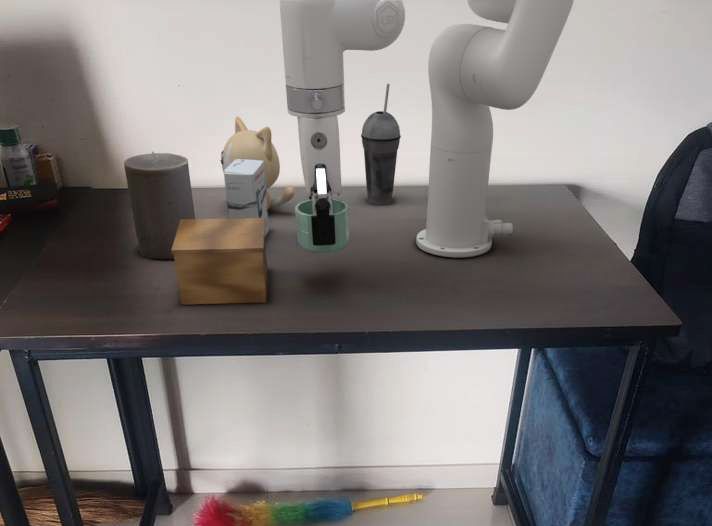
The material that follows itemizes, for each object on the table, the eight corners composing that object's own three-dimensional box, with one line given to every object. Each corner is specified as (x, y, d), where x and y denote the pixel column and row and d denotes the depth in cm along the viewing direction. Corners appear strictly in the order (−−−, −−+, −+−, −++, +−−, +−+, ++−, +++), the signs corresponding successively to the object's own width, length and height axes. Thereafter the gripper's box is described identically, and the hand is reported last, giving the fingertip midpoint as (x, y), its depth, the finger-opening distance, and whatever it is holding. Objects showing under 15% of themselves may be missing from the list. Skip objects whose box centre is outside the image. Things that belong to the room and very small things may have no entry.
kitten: (208, 205, 143) (197, 117, 134) (253, 195, 148) (246, 110, 139) (252, 226, 134) (244, 134, 125) (298, 215, 139) (294, 125, 130)
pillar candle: (132, 259, 122) (113, 159, 112) (148, 237, 129) (131, 142, 120) (192, 261, 121) (179, 161, 112) (205, 239, 129) (193, 144, 120)
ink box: (259, 248, 126) (253, 173, 119) (229, 247, 126) (221, 172, 119) (270, 230, 133) (264, 158, 125) (242, 229, 133) (235, 157, 126)
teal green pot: (347, 234, 115) (346, 197, 111) (351, 253, 109) (350, 214, 106) (297, 236, 114) (294, 199, 111) (298, 256, 109) (295, 217, 105)
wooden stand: (268, 269, 119) (264, 217, 114) (267, 303, 109) (263, 247, 104) (187, 271, 118) (180, 219, 113) (179, 305, 108) (171, 249, 103)
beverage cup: (356, 196, 148) (356, 80, 136) (391, 193, 150) (394, 79, 138) (367, 208, 143) (368, 89, 130) (403, 205, 145) (408, 87, 132)
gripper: (349, 114, 93) (353, 255, 104) (340, 84, 106) (344, 212, 118) (287, 116, 92) (298, 258, 104) (286, 85, 106) (295, 214, 117)
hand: (322, 232), depth 111 cm, fingers closed on teal green pot, 7 cm apart
